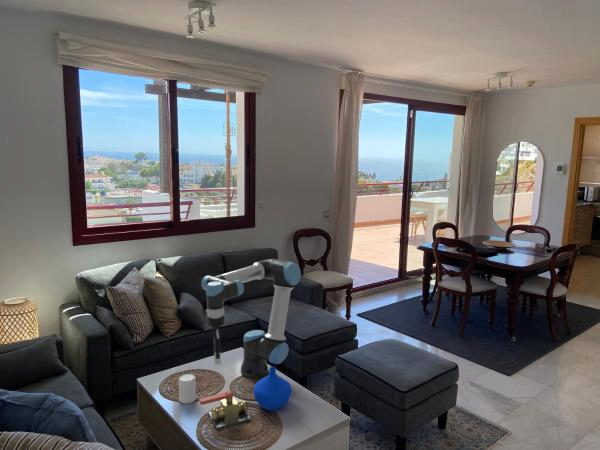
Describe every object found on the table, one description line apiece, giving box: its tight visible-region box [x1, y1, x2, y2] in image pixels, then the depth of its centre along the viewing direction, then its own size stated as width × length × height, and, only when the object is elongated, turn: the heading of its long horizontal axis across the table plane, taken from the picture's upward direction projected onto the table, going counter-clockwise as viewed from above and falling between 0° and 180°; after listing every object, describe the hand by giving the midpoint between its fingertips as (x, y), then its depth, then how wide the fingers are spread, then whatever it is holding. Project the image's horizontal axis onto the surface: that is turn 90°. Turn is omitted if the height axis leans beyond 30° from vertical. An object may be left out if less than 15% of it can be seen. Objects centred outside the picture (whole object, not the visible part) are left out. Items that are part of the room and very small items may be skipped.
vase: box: [253, 366, 292, 411], centre depth 215 cm, size 18×18×19 cm
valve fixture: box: [208, 396, 252, 431], centre depth 205 cm, size 16×13×10 cm
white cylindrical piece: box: [178, 373, 197, 405], centre depth 219 cm, size 8×8×12 cm
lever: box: [198, 390, 234, 406], centre depth 201 cm, size 15×4×2 cm, turn 118°
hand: (217, 363), depth 207 cm, fingers closed
